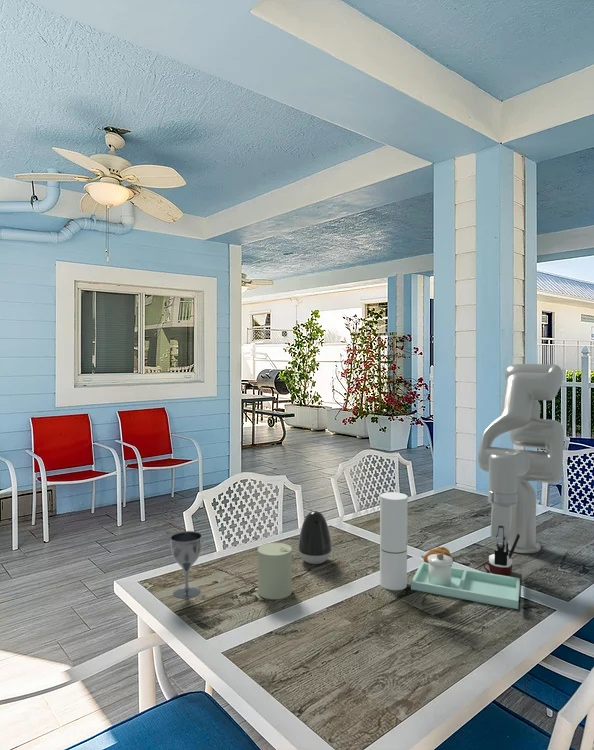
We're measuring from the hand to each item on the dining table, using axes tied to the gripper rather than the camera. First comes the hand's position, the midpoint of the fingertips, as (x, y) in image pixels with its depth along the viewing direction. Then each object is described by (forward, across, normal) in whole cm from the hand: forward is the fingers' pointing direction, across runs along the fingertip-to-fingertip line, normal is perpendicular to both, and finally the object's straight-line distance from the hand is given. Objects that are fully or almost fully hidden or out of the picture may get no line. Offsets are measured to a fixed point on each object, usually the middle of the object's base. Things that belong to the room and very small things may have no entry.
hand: (501, 559), depth 148 cm
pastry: (+5, -3, -18) cm, 19 cm away
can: (+5, +35, -54) cm, 64 cm away
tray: (+5, +14, -8) cm, 17 cm away
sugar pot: (+4, +14, -15) cm, 21 cm away
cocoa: (+5, 0, 0) cm, 5 cm away
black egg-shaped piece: (+5, +12, -52) cm, 54 cm away
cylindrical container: (+5, +20, -26) cm, 33 cm away
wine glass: (+5, +45, -75) cm, 88 cm away
